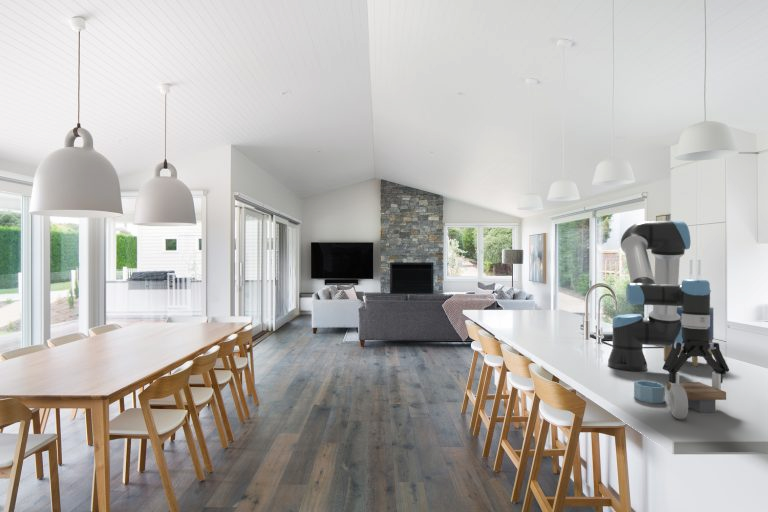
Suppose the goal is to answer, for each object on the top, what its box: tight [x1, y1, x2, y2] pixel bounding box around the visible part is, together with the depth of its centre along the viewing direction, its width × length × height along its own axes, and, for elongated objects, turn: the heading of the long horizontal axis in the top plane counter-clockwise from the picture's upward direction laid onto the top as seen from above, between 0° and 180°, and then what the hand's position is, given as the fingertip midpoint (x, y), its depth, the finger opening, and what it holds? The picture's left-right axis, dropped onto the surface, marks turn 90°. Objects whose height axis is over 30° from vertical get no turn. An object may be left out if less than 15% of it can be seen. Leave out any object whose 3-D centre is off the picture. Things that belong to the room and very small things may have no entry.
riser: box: [688, 399, 717, 413], centre depth 140 cm, size 10×5×4 cm, turn 2°
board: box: [666, 381, 727, 401], centre depth 140 cm, size 11×11×2 cm
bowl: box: [633, 380, 666, 404], centre depth 147 cm, size 8×8×5 cm
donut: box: [668, 384, 689, 420], centre depth 129 cm, size 10×3×10 cm, turn 158°
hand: (695, 393), depth 140 cm, fingers open, 13 cm apart
